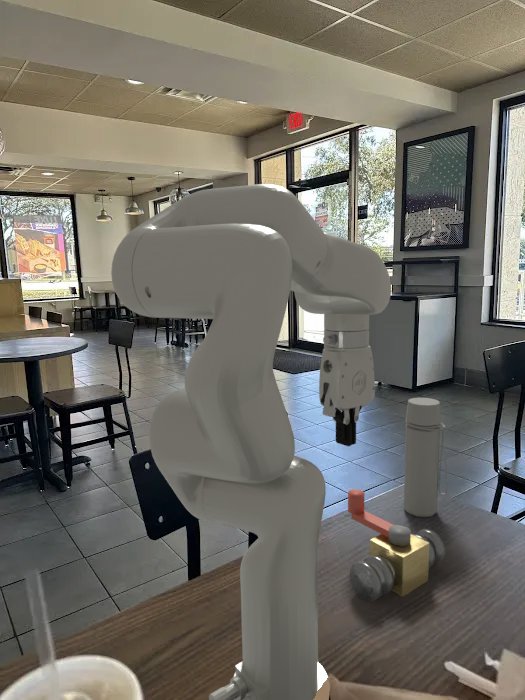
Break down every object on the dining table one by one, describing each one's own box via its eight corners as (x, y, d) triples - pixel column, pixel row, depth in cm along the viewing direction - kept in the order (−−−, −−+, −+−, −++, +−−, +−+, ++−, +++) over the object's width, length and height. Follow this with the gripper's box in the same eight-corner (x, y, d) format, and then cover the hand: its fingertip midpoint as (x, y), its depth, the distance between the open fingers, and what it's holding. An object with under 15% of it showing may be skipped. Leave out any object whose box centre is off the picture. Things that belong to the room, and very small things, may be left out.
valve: (379, 610, 80) (380, 569, 79) (347, 589, 85) (347, 550, 84) (446, 569, 90) (448, 532, 89) (414, 552, 96) (415, 517, 95)
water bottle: (399, 515, 110) (401, 403, 106) (407, 500, 117) (409, 395, 113) (443, 524, 106) (448, 408, 102) (449, 508, 113) (453, 399, 109)
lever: (414, 541, 86) (415, 513, 86) (401, 548, 84) (402, 520, 84) (356, 512, 97) (356, 487, 96) (343, 518, 95) (343, 492, 94)
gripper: (334, 347, 78) (334, 460, 81) (390, 337, 88) (388, 438, 91) (299, 342, 84) (300, 448, 87) (356, 333, 94) (355, 429, 97)
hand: (345, 443), depth 89 cm, fingers closed
